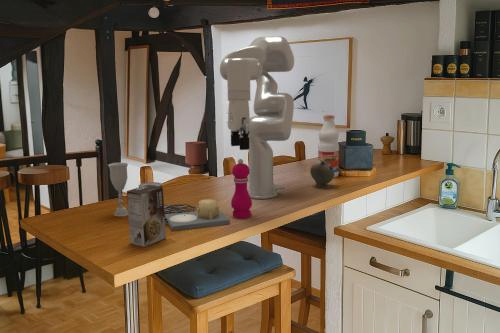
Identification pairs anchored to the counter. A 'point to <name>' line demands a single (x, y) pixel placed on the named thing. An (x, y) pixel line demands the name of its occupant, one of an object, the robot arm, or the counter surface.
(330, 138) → the fruit juice
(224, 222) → the plate
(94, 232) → the counter surface
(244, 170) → the pepper mill
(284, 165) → the counter surface
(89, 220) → the counter surface
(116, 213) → the chalice
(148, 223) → the coffee box
